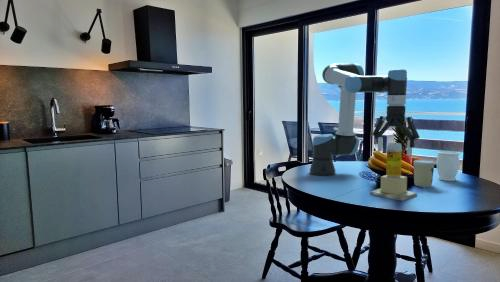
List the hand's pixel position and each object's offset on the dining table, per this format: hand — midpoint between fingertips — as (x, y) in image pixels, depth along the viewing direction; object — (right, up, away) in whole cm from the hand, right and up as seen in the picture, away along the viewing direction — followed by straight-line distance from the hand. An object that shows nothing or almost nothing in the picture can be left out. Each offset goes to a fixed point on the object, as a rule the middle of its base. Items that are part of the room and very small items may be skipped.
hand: (394, 153), depth 148 cm
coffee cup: (+23, -17, +19) cm, 35 cm away
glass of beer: (0, -11, +1) cm, 11 cm away
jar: (+42, -16, +31) cm, 54 cm away
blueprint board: (0, -19, +1) cm, 19 cm away
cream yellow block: (0, -18, +1) cm, 18 cm away
